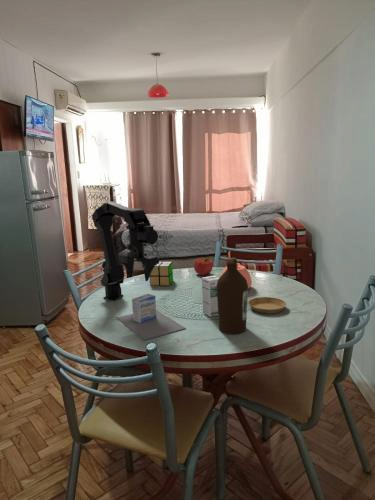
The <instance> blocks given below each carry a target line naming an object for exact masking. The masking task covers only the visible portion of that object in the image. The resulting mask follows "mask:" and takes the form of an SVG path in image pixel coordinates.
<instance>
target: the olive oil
mask: <svg viewBox="0 0 375 500" xmlns="http://www.w3.org/2000/svg"><path fill="white" fill-rule="evenodd" d="M226 261H227V262H226V266H227V270H226V271H225V272H224V273H223V274H222V273H221V274H222V275H221V274H220V276H219V277H220V278H219V279H218V282H217V286H216V288H217V302H218V315H217V317H218V330H219V331H220V332H221V333H224V334H227V335H238V334H242V333H244V332H246V330H247V316H248V315H247V314H248V309H247V308H248V296H249V295H248V294H249V293H248V292H249V289H248V284H247V281H246V279H245V277H244V276H243V275H242V274H241V273H240V272H239V271H238V270H237V263H238V262H237V261H238V259H237V258H236V257H228V258H227V259H226Z"/></svg>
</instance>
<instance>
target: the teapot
mask: <svg viewBox="0 0 375 500" xmlns="http://www.w3.org/2000/svg"><path fill="white" fill-rule="evenodd" d="M226 270H227V265H226V266H225V267H224V269H223V271H222V272H221V274H220V276H221V275H222V274H223V273H224V272H225V271H226ZM237 270H238V271H239V272H240V273H241V274H242V275H243V276H244V277H245V279H246V281H247V284H248V290H249V289H251V288H250V287H251V286H252V284H253V283H252V278H251V274H250V272H249V271H248V269H247V268H246V266H245V265H241V263H239V262H237Z"/></svg>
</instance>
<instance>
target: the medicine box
mask: <svg viewBox="0 0 375 500" xmlns="http://www.w3.org/2000/svg"><path fill="white" fill-rule="evenodd" d="M156 302H157V300H156V295H153V294H150V293H146V294H144V295H140V296H138V297H134V298H131V305H132V306H131V307H132V314H133V320H134V321H136V322H139V323H143V322H146V321H148V320H150V319H153V318H156V310H157V305H156V304H157V303H156Z"/></svg>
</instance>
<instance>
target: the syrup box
mask: <svg viewBox="0 0 375 500" xmlns="http://www.w3.org/2000/svg"><path fill="white" fill-rule="evenodd" d="M219 278H220V276H218V275H215V274H213V275H210V276H205V277H204V276H202V277H201V292H202V293H201V295H202V297H201V298H202V313H203V314H204V315H206V316H208V317H210V318H212V317H216V316H218V302H217V288H216V286H217V282H218V279H219Z"/></svg>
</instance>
